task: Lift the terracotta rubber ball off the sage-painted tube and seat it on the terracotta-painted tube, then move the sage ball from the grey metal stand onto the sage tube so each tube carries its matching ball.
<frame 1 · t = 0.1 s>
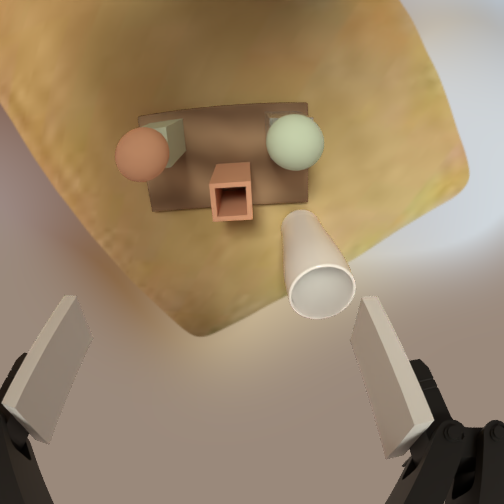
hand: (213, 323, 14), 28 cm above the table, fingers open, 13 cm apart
terracotta tube: (234, 178, 37), resting on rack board
sage ball: (291, 137, 28), point 9 cm above the table, touching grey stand
terracotta ball: (149, 148, 28), point 9 cm above the table, touching sage tube
drinking glass: (299, 225, 42), on the table
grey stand: (282, 127, 34), resting on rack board
sage tube: (168, 136, 34), resting on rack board
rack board: (224, 155, 37), on the table
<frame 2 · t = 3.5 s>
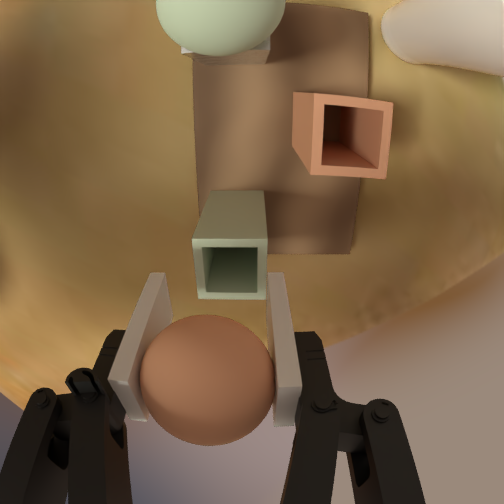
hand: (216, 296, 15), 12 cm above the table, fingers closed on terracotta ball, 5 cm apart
terracotta tube: (320, 120, 21), resting on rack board
sage ball: (226, 14, 11), point 9 cm above the table, touching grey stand
terracotta ball: (212, 334, 13), point 14 cm above the table, touching gripper
drinking glass: (406, 34, 18), on the table
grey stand: (235, 38, 18), resting on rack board
sage tube: (237, 214, 24), resting on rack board
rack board: (280, 130, 22), on the table
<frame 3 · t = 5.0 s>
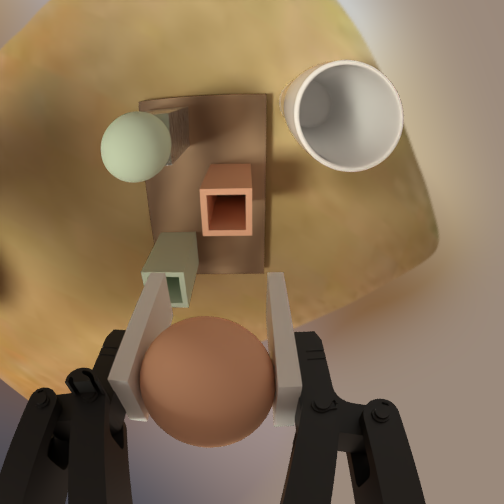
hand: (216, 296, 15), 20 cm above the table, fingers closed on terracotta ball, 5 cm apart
terracotta tube: (230, 182, 31), resting on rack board
sage ball: (146, 140, 22), point 9 cm above the table, touching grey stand
terracotta ball: (212, 335, 13), point 22 cm above the table, touching gripper
drinking glass: (304, 102, 29), on the table
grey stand: (168, 127, 28), resting on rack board
sage tube: (180, 248, 35), resting on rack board
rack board: (205, 188, 33), on the table
when the fingers open (7 cm above the table, at t = 7.4 s): terracotta ball drops 1 cm, resting on terracotta tube.
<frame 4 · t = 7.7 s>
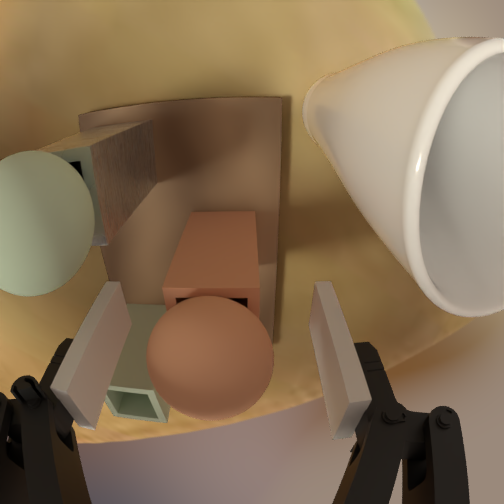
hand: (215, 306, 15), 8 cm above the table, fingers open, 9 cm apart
terracotta tube: (224, 239, 20), resting on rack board
sage ball: (62, 197, 11), point 9 cm above the table, touching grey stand
terracotta ball: (213, 317, 14), point 9 cm above the table, touching terracotta tube
drinking glass: (341, 112, 18), on the table
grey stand: (124, 154, 17), resting on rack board
sage tube: (155, 323, 24), resting on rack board
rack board: (187, 245, 22), on the table
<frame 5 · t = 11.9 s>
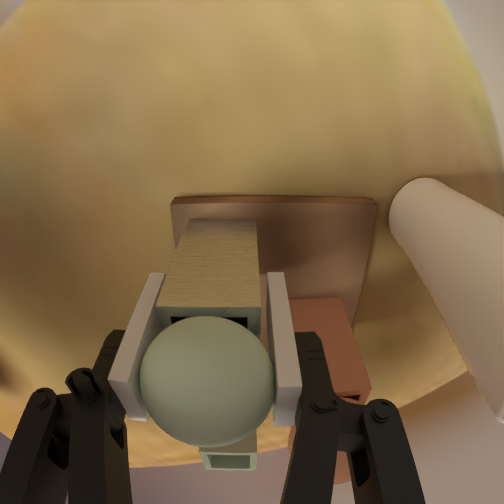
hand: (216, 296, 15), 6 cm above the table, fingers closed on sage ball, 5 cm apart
terracotta tube: (309, 319, 22), resting on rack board
sage ball: (212, 335, 13), point 9 cm above the table, touching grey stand, gripper
terracotta ball: (327, 404, 16), point 9 cm above the table, touching terracotta tube
drinking glass: (417, 209, 20), on the table
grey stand: (223, 248, 19), resting on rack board
sage tube: (231, 382, 26), resting on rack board
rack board: (270, 319, 24), on the table
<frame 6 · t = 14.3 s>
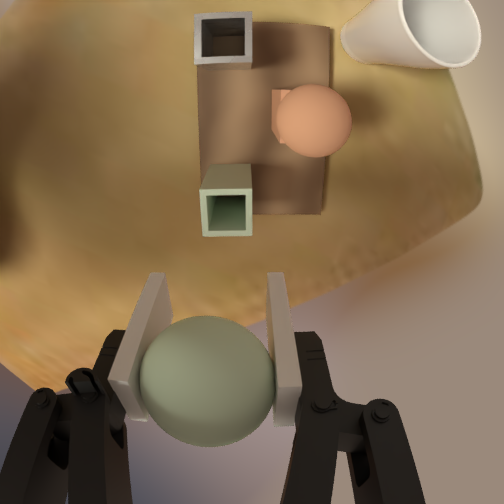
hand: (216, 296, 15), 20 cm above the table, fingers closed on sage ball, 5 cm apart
terracotta tube: (292, 110, 28), resting on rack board
sage ball: (212, 335, 13), point 22 cm above the table, touching gripper
terracotta ball: (306, 117, 21), point 9 cm above the table, touching terracotta tube
drinking glass: (362, 41, 25), on the table
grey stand: (228, 50, 24), resting on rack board
sage tube: (230, 182, 31), resting on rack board
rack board: (263, 118, 29), on the table
when the fingers open (7 cm above the table, at t = 16.7 s): sage ball drops 1 cm, resting on sage tube.
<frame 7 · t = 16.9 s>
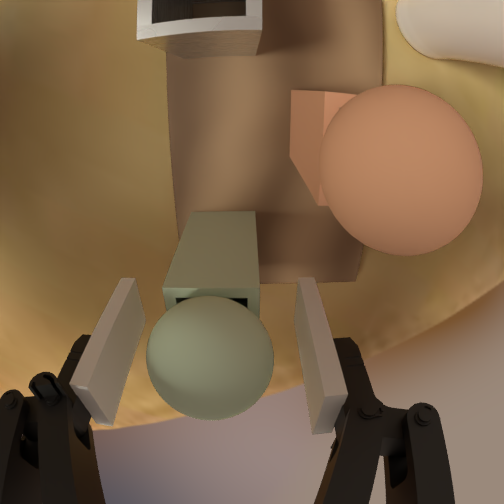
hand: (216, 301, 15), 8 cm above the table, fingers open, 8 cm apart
terracotta tube: (324, 125, 17), resting on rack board
sage ball: (213, 317, 14), point 9 cm above the table, touching sage tube
terracotta ball: (371, 151, 10), point 9 cm above the table, touching terracotta tube
drinking glass: (424, 24, 14), on the table
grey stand: (219, 24, 14), resting on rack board
sage tube: (224, 239, 20), resting on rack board
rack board: (275, 136, 18), on the table
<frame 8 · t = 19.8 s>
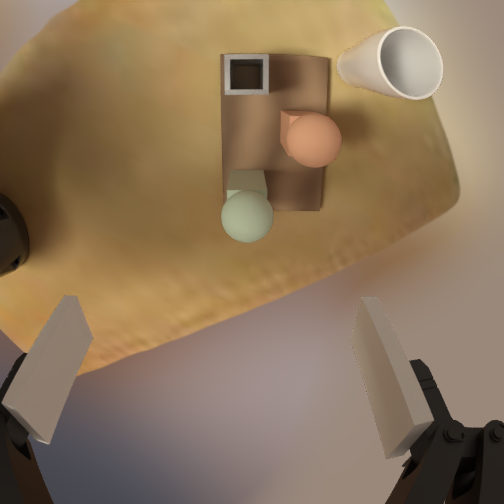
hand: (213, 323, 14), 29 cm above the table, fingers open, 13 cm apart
terracotta tube: (297, 126, 35), resting on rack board
sage ball: (246, 206, 32), point 9 cm above the table, touching sage tube
terracotta ball: (308, 136, 29), point 9 cm above the table, touching terracotta tube
drinking glass: (354, 68, 32), on the table
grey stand: (246, 77, 32), resting on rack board
sage tube: (247, 185, 39), resting on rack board
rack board: (273, 132, 37), on the table
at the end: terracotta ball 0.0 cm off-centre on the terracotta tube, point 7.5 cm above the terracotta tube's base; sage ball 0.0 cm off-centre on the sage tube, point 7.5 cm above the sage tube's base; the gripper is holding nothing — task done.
